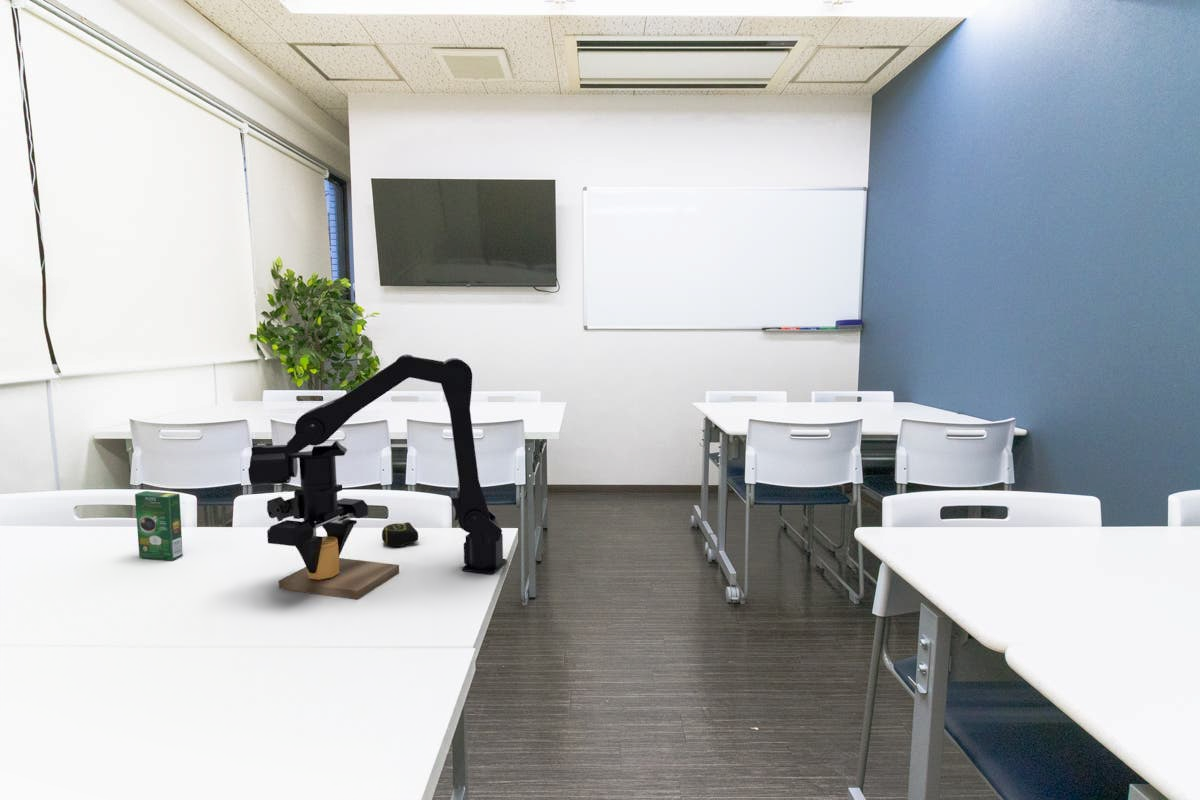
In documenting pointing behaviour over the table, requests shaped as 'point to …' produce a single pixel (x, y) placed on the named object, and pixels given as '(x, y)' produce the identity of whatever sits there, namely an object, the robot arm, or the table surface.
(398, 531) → the tape measure
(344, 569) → the wooden board with peg
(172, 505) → the coffee box
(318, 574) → the orange wooden cylinder
